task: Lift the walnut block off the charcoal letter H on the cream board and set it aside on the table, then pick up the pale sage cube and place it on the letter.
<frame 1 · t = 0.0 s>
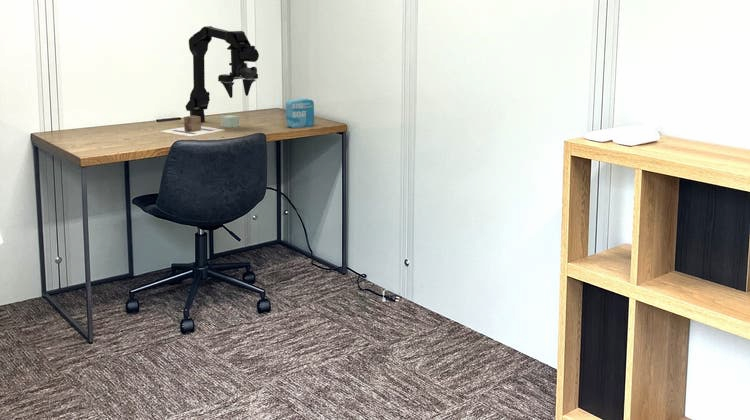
hand: (239, 96, 400), 15 cm above the table, fingers open, 9 cm apart
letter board: (193, 132, 396), on the table
sage cube: (230, 128, 407), on the table
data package: (300, 126, 414), on the table
walnut block: (192, 130, 396), point 1 cm above the table, touching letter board
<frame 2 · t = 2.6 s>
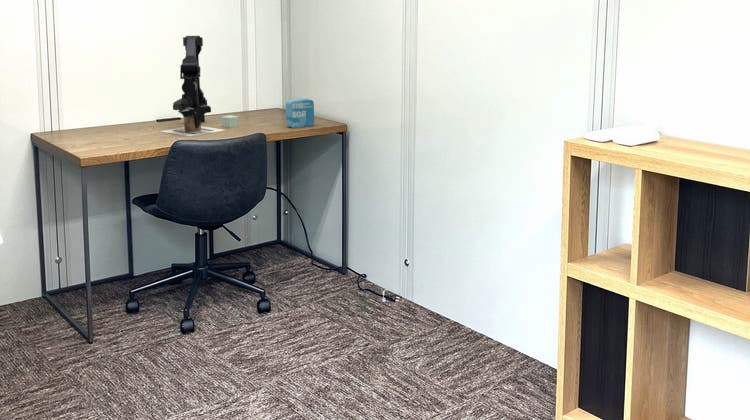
hand: (192, 127, 396), 2 cm above the table, fingers closed on walnut block, 5 cm apart
walnut block: (192, 130, 396), point 1 cm above the table, touching gripper, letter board
everything else where it was.
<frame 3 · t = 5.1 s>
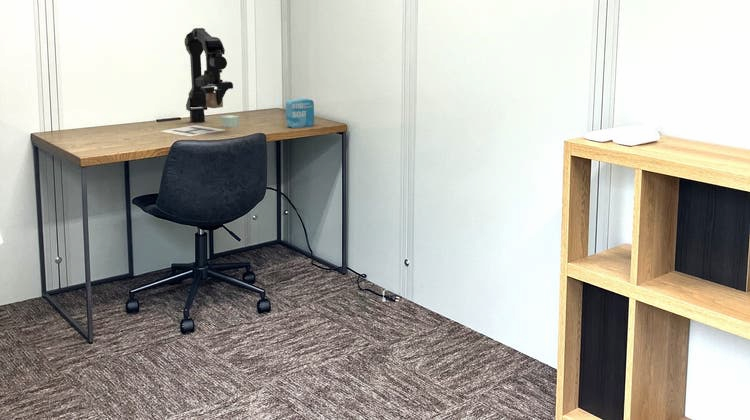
hand: (214, 104, 395), 12 cm above the table, fingers closed on walnut block, 5 cm apart
walnut block: (214, 107, 395), point 11 cm above the table, touching gripper
everything else where it was.
when the fingers open (3 cm above the table, at t = 7.9 s): walnut block drops 2 cm, on the table.
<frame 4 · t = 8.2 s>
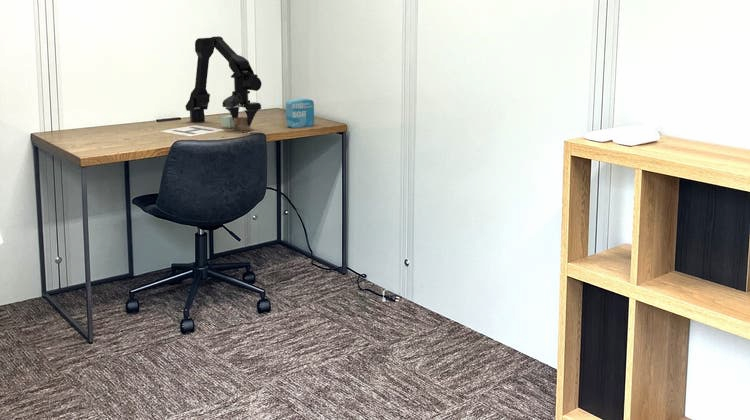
hand: (242, 124, 399), 3 cm above the table, fingers open, 8 cm apart
walnut block: (242, 131, 400), on the table
everything else where it was.
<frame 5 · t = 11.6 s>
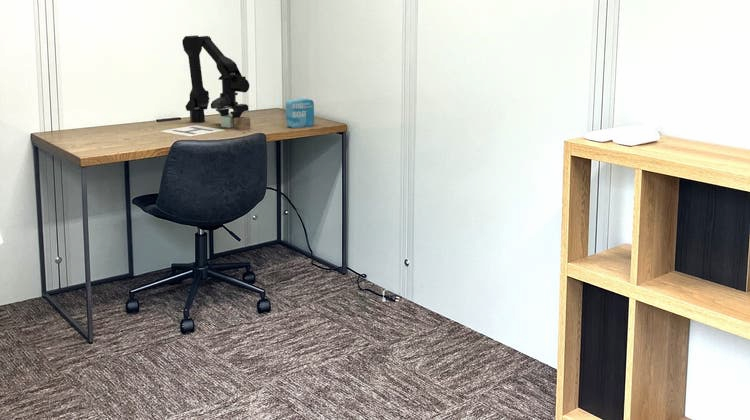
hand: (230, 125, 407), 1 cm above the table, fingers closed on sage cube, 5 cm apart
sage cube: (230, 128, 407), on the table, touching gripper
everything else where it was.
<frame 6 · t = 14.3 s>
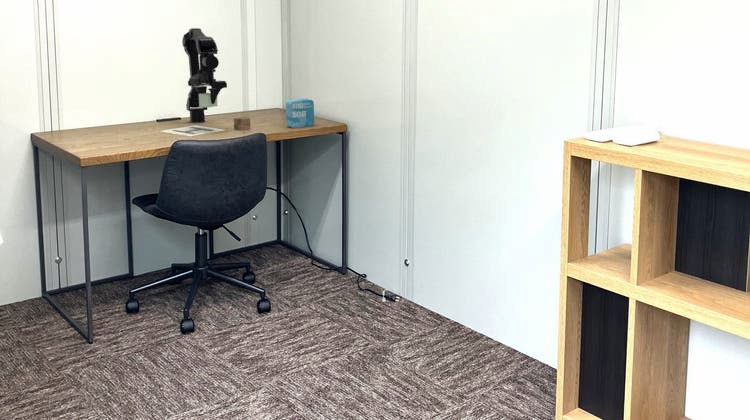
hand: (208, 103, 398), 12 cm above the table, fingers closed on sage cube, 5 cm apart
sage cube: (208, 106, 398), point 11 cm above the table, touching gripper
everything else where it was.
when the fingers open (3 cm above the table, at t = 16.8 s): sage cube drops 1 cm, resting on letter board.
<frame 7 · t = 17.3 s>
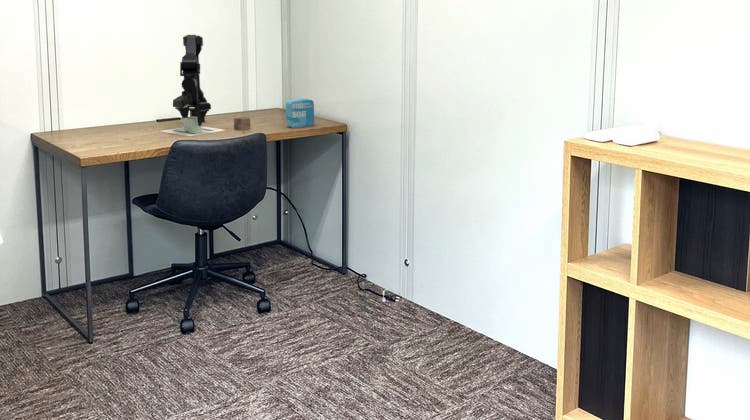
hand: (192, 124, 395), 3 cm above the table, fingers open, 9 cm apart
sage cube: (192, 130, 396), point 1 cm above the table, touching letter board
everything else where it was.
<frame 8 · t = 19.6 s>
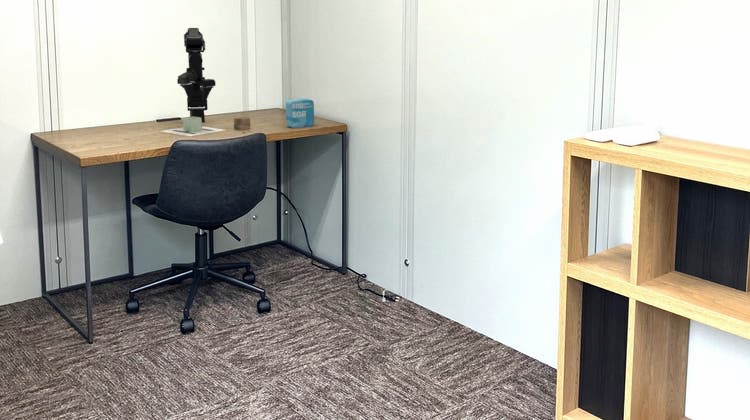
hand: (197, 101, 397), 13 cm above the table, fingers open, 9 cm apart
nothing on the table moved.
at the end: sage cube inside the target area on the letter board (0.0 cm from its centre), point 1.0 cm above the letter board's base; sage cube tilted 0°; walnut block touching table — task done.
